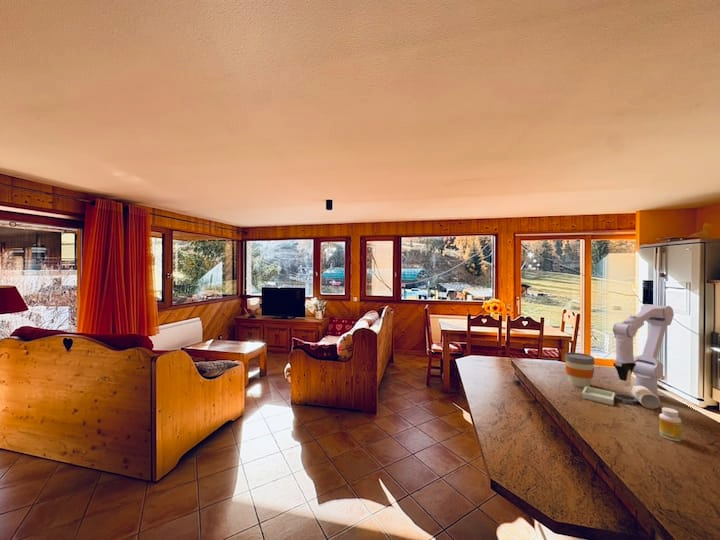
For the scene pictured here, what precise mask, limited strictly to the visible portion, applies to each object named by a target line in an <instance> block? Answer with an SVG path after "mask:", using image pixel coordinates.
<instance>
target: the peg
mask: <svg viewBox="0 0 720 540" xmlns="http://www.w3.org/2000/svg"><path fill="white" fill-rule="evenodd" d="M618 385H620V386H623V387H627V388H628V387H632V374H631V370H630V369H629V371H628V374H627V380H626V381H624V380H620V379H619V378H618Z"/></svg>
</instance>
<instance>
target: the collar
mask: <svg viewBox="0 0 720 540" xmlns="http://www.w3.org/2000/svg"><path fill="white" fill-rule="evenodd" d="M614 401H615V402H618V403H620V404H621V403H622V404H625V405H631V406H636V405H638V404H639V401H638V400H637V399H636V398H635V397H634V396H633V395H630V394H627V393H626V394H625V393H622V392H621V393H620V392H615V400H614Z"/></svg>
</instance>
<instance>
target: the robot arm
mask: <svg viewBox="0 0 720 540" xmlns="http://www.w3.org/2000/svg"><path fill="white" fill-rule="evenodd" d="M674 315H675V314H674V309H673V308H672V306H670V305H658V304H648V303H645V304H643V305H642V306H640V311H639V312H638V313H636V315H629V317H627V318H626V319H624V320H623V321H622V322H617V323H614V324H613V327H612V333H613V334H614V338H615V347H616V348H615V349H616V350H615V351H616V353H615V354H616V355H615V362H614V363H613V366H614V368H615V371H616V372H617V375H618V380H619V379H620V380H624V381H626V380H627V374H628V371H629V369H630V370H631V375H632V374H634V376H635V385H641V386H644V387H646V388H647V389H648V390H650V391H651V392H652V393H653V394H654V395H655V396H657V397H658V398H659V399H660V397H659V392H658V380H660V379H661V378H663V376H664V375H663V374H664V365H663V363H662V362H661V361H660V360H659V359H658V356H659V354H660V350H661V347H662V343H663V341H664V336H665V332H666V329H667V326H670V325H671V323H672V321H673V319H674ZM645 322H646V323H648V324H650V325H651V326H650V328H649V332H648V336H647V339H646V341H645V345H644V348H643V351H642V354H640V355H638V356H637V355H636V356H635V357H634V337H635V336H636V334H637V333H638V330H639V329H640V328H641V327H643V326H644V325H645Z"/></svg>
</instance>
